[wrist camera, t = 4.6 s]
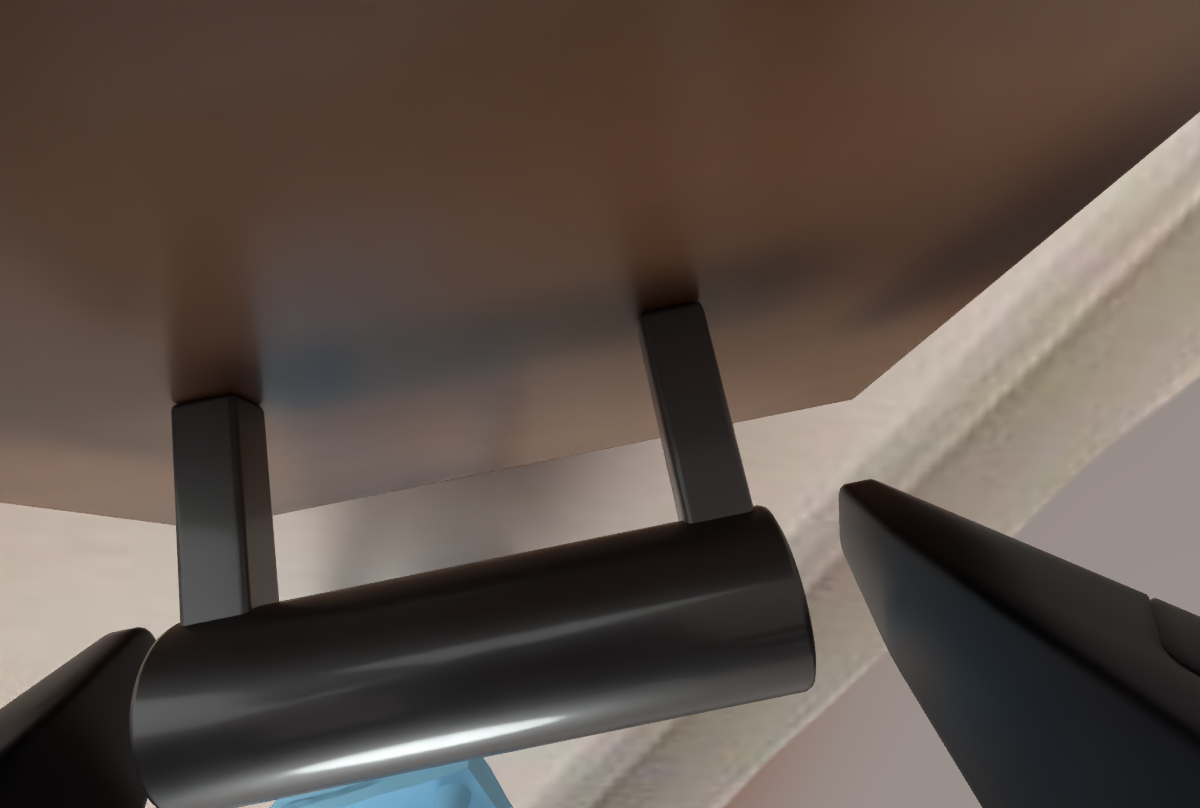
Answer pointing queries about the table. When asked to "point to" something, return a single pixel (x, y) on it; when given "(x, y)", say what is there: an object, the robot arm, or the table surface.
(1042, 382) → the table surface
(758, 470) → the table surface
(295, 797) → the chair
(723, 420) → the lid
